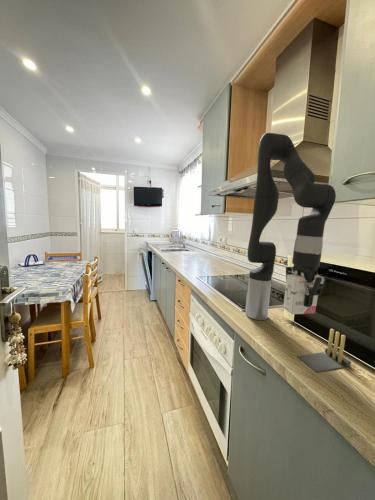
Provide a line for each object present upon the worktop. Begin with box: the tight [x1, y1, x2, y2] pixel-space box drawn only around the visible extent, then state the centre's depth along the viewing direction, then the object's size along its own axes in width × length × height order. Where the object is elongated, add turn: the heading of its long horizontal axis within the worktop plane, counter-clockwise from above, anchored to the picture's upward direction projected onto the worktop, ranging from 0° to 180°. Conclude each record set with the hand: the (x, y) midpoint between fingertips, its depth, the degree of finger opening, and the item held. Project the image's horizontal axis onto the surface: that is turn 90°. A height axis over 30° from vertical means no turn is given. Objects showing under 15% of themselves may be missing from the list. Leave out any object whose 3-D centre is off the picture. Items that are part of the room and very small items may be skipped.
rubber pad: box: [297, 351, 344, 373], centre depth 63 cm, size 7×10×1 cm
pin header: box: [324, 328, 352, 368], centre depth 64 cm, size 7×3×9 cm, turn 15°
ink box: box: [283, 274, 319, 315], centre depth 67 cm, size 9×5×12 cm, turn 99°
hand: (300, 302), depth 67 cm, fingers closed on ink box, 5 cm apart
